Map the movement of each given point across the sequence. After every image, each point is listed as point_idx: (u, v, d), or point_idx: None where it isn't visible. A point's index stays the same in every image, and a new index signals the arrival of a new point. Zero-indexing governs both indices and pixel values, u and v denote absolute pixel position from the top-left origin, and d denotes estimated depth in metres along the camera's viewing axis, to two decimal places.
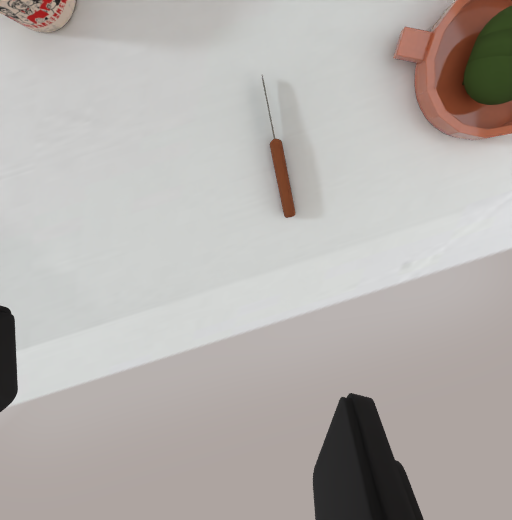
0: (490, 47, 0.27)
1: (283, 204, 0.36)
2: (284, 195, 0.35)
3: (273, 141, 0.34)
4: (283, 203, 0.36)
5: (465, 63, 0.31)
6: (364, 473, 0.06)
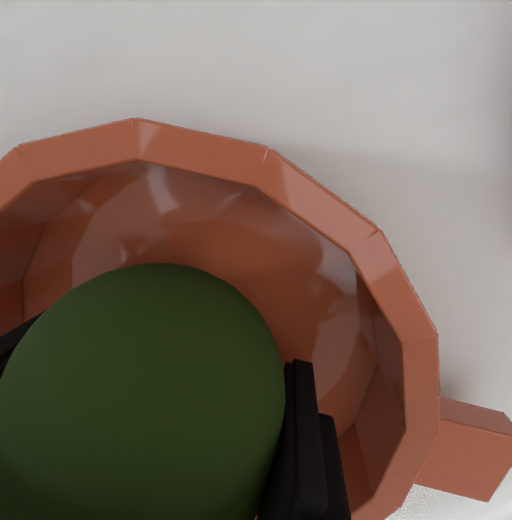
0: None
1: None
2: None
3: None
4: None
5: None
6: (289, 417, 0.07)
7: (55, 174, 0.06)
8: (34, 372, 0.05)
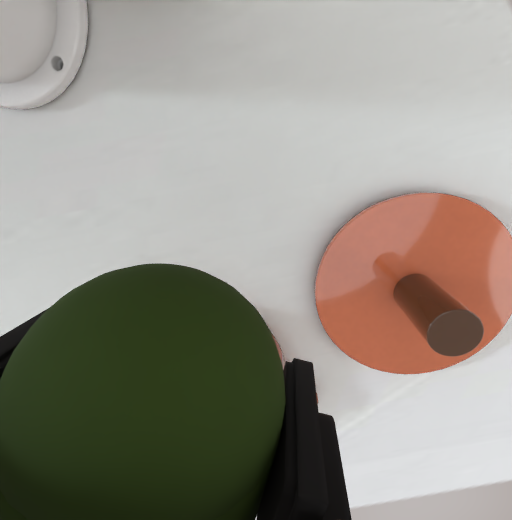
0: None
1: None
2: None
3: None
4: None
5: None
6: (289, 417, 0.07)
7: None
8: (33, 374, 0.05)
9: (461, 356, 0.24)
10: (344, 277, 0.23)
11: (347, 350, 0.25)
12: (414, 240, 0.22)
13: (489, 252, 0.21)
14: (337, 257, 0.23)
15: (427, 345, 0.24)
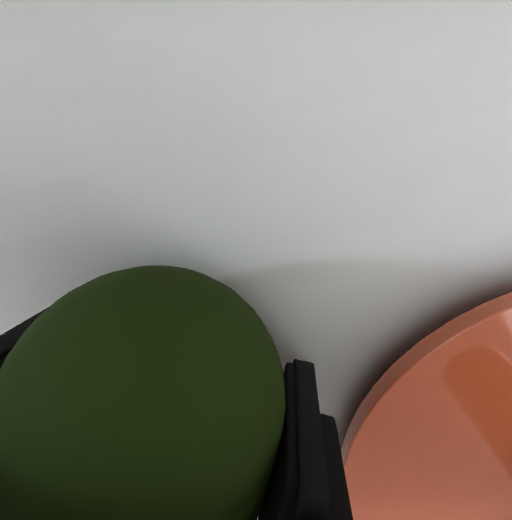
0: None
1: None
2: None
3: None
4: None
5: None
6: (290, 418, 0.07)
7: None
8: (26, 382, 0.05)
9: None
10: (416, 464, 0.09)
11: None
12: None
13: None
14: (401, 420, 0.09)
15: None
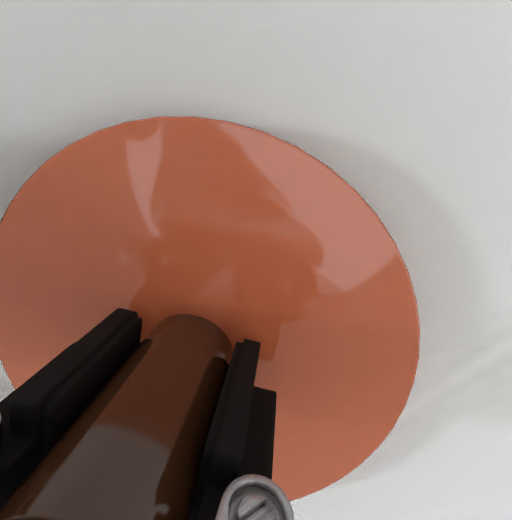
0: None
1: None
2: None
3: None
4: None
5: None
6: (226, 388, 0.07)
7: None
8: None
9: (311, 484, 0.11)
10: (41, 319, 0.10)
11: None
12: (164, 237, 0.09)
13: (338, 268, 0.09)
14: (14, 275, 0.10)
15: None
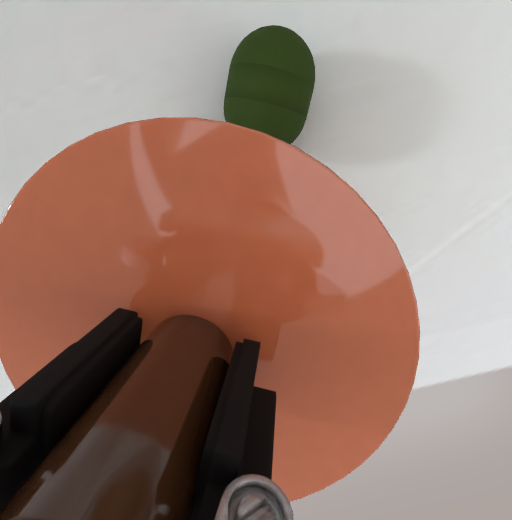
0: (229, 85, 0.20)
1: None
2: None
3: None
4: None
5: None
6: (226, 388, 0.07)
7: None
8: (256, 34, 0.19)
9: (312, 484, 0.11)
10: (42, 319, 0.10)
11: None
12: (165, 238, 0.09)
13: (338, 268, 0.09)
14: (14, 276, 0.10)
15: None
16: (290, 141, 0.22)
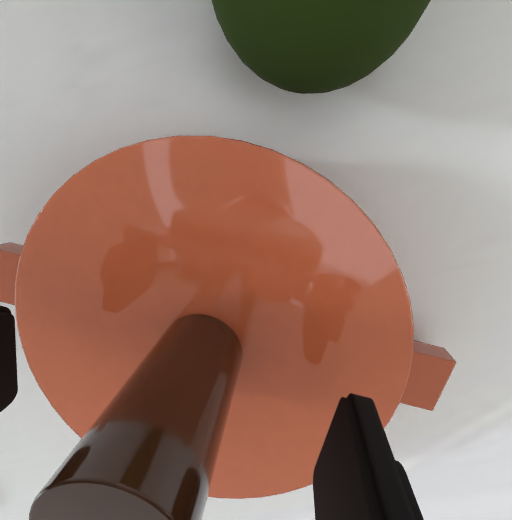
0: None
1: None
2: None
3: None
4: None
5: None
6: (364, 473, 0.06)
7: None
8: None
9: None
10: (65, 318, 0.11)
11: None
12: (180, 244, 0.10)
13: (339, 272, 0.10)
14: (41, 278, 0.11)
15: (247, 451, 0.12)
16: (393, 46, 0.08)
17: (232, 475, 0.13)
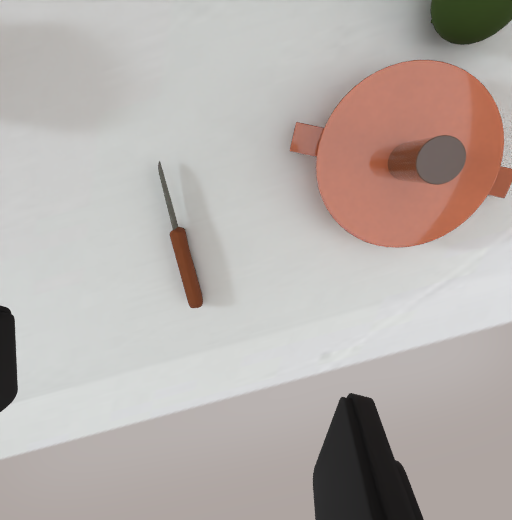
0: None
1: None
2: (187, 288, 0.32)
3: (172, 233, 0.31)
4: (186, 295, 0.33)
5: None
6: (364, 473, 0.06)
7: None
8: None
9: (449, 226, 0.26)
10: (343, 149, 0.25)
11: (345, 224, 0.27)
12: (407, 108, 0.24)
13: (474, 118, 0.24)
14: (336, 128, 0.25)
15: (418, 216, 0.26)
16: (506, 23, 0.22)
17: (408, 232, 0.27)
